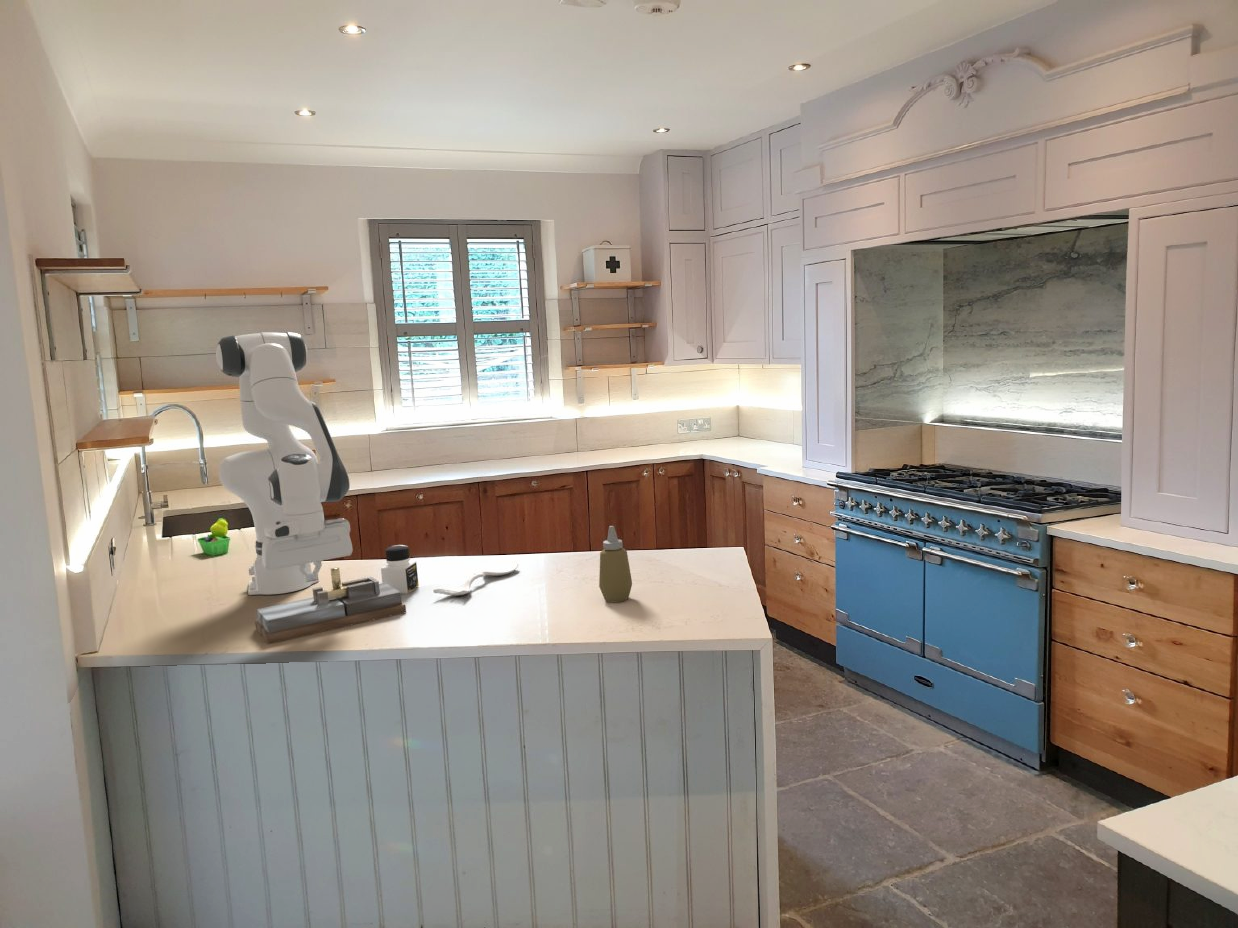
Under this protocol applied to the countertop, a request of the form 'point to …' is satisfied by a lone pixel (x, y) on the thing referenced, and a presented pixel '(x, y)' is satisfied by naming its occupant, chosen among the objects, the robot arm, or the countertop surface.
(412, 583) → the medicine bottle
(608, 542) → the squeeze bottle
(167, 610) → the countertop surface
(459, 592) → the white fork
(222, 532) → the fruit basket
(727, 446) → the countertop surface
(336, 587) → the bolt
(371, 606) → the sliding barrel latch
